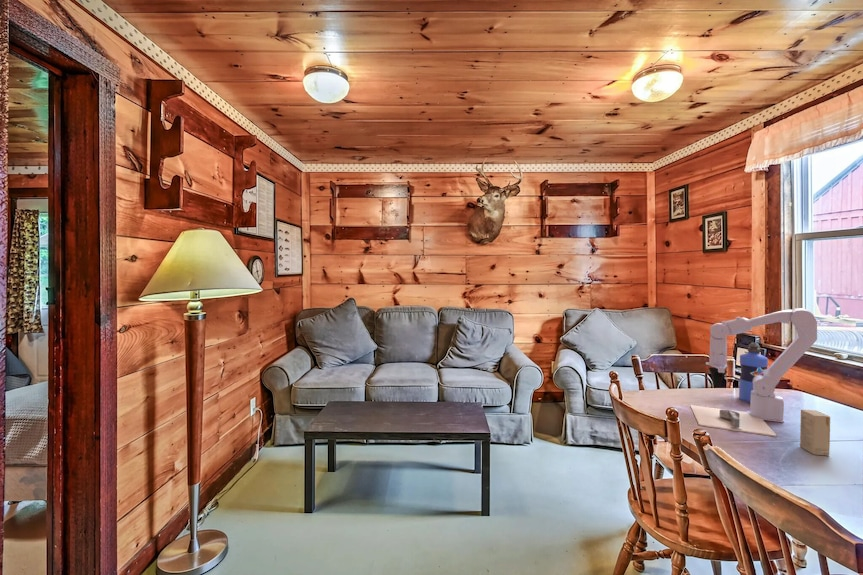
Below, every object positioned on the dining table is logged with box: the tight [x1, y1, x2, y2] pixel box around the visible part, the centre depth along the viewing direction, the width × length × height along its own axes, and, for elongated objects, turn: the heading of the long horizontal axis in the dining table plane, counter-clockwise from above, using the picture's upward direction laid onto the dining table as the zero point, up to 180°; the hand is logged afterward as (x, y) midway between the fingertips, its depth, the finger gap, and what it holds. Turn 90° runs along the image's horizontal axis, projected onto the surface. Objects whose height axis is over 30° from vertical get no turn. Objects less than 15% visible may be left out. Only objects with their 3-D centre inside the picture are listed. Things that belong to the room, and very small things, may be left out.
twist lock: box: [720, 409, 740, 427], centre depth 145 cm, size 13×6×3 cm, turn 155°
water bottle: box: [738, 342, 769, 404], centre depth 170 cm, size 9×9×25 cm
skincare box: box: [799, 409, 831, 456], centre depth 123 cm, size 6×4×12 cm
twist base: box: [690, 404, 777, 438], centre depth 149 cm, size 22×22×1 cm
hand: (716, 386), depth 160 cm, fingers closed
